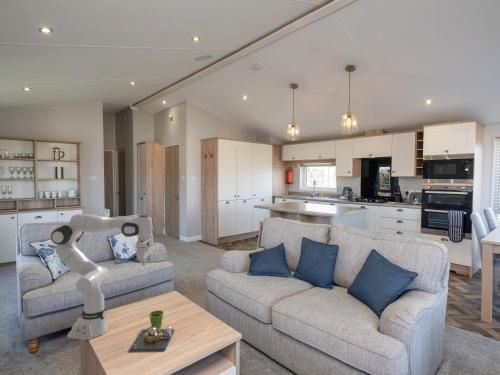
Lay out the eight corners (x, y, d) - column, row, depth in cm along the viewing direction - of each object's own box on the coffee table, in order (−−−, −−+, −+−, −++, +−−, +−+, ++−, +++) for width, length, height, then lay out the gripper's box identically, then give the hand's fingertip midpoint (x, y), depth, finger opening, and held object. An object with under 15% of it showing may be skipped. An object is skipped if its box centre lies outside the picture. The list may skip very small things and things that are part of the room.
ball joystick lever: (141, 342, 168) (141, 332, 168) (147, 333, 178) (147, 323, 178) (168, 342, 168) (168, 331, 168) (173, 332, 178) (173, 322, 178)
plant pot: (159, 331, 184) (159, 317, 183) (146, 329, 185) (145, 316, 185) (166, 323, 193) (166, 310, 192) (153, 322, 195) (153, 309, 194)
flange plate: (129, 351, 163) (129, 337, 163) (142, 331, 183) (142, 320, 183) (165, 350, 163) (165, 337, 163) (174, 331, 183) (174, 319, 183)
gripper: (146, 237, 191) (147, 258, 192) (134, 245, 171) (135, 268, 171) (156, 237, 191) (156, 258, 192) (145, 244, 171) (146, 268, 171)
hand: (146, 263), depth 181 cm, fingers open, 8 cm apart
